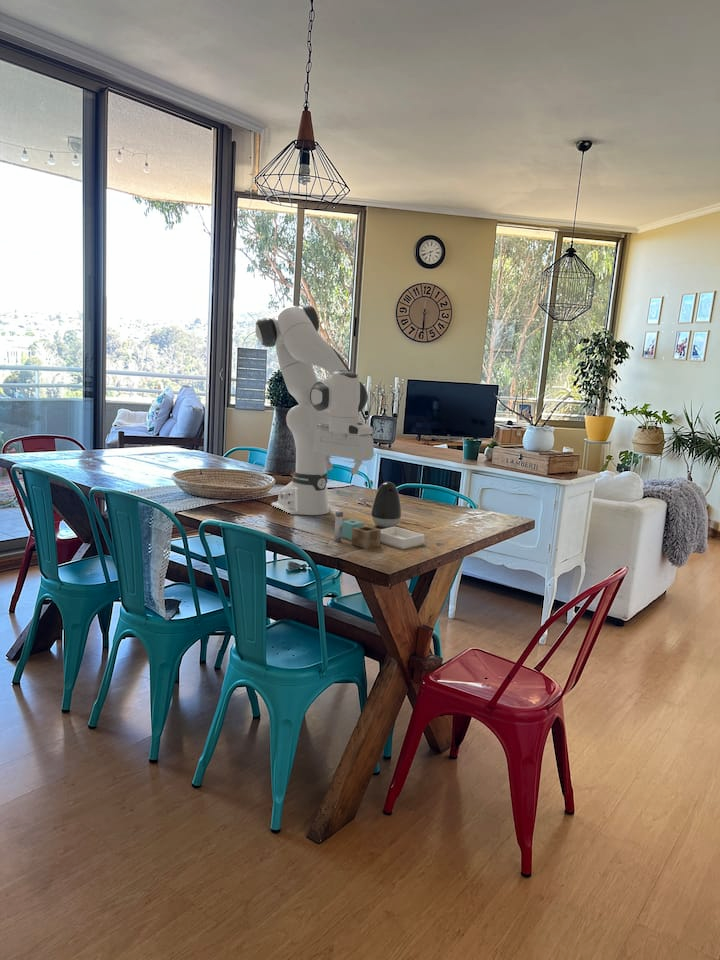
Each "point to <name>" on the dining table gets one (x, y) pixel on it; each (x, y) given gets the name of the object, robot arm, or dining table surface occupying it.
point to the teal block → (350, 527)
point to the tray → (401, 537)
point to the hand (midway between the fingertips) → (341, 471)
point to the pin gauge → (338, 526)
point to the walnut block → (366, 537)
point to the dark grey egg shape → (386, 506)
